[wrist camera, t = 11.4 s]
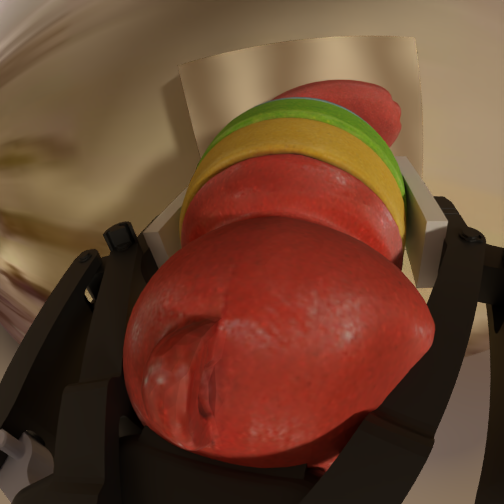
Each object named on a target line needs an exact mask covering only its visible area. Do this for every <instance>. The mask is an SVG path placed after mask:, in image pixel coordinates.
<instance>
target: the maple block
mask: <svg viewBox="0 0 504 504" xmlns="http://www.w3.org/2000/svg"><path fill="white" fill-rule="evenodd" d="M178 69H179V73H180V78H181V82H182V86H183V90H184V94H185V98H186V102H187V106H188V110H189V114H190V118H191V122H192V126H193V130H194V134H195V138H196V142H197V146H198V150H199V154H200V158H202V156H203V154H204V153H205V151H206V149H207V148H208V146H209V145H210V144H211V142H212V141H213V140H214V138H215V137H216V136H217V135H218V134H219V132H220V131H221V130H222V129H223V128H224V127H225V126H226V125H227V124H228V123H229V122H231V121H232V120H233V119H234V118H236V117H237V116H239V115H240V114H242V113H244V112H245V111H247V110H249V109H251V108H253V107H255V106H257V105H259V104H262V103H265V102H267V101H271V100H272V99H274V98H275V97H277V96H279V95H280V94H282V93H284V92H286V91H288V90H291V89H293V88H296V87H298V86H301V85H305V84H308V83H312V82H318V81H325V80H356V81H363V82H368V83H373V84H376V85H379V86H381V87H383V88H385V89H386V90H387V91H388V92H389V93H390V94H391V96H392V100H393V101H395V102H397V103H398V104H399V106H400V108H401V117H400V122H401V131H400V133H399V135H398V137H397V139H396V140H395V141H394V143H393V144H392V145H391V147H390V150H391V151H392V153H393V155H394V156H406V157H407V159H408V160H409V161H410V163H411V164H412V166H413V167H414V168H415V170H416V171H417V173H418V174H419V176H420V177H421V179H422V178H423V113H422V96H421V83H420V73H419V64H418V56H417V49H416V42H415V38H413V37H397V36H341V37H324V38H312V39H302V40H294V41H286V42H279V43H272V44H266V45H260V46H255V47H249V48H244V49H239V50H235V51H230V52H226V53H221V54H217V55H213V56H209V57H206V58H202V59H198V60H195V61H191V62H188V63H184V64H181V65H178ZM404 250H406V247H405V249H404Z"/></svg>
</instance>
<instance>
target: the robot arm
mask: <svg viewBox="0 0 504 504" xmlns="http://www.w3.org/2000/svg"><path fill="white" fill-rule="evenodd" d="M394 157H395V159H396V161H397V163H398V165H399V168H400V171H401V174H402V177H403V181H404V186H405V192H406V199H407V223H406V242H405V247H406V251H407V254H408V258H409V261H410V265H411V269H412V272H413V276H414V280H415V284H416V288H431V287H433V289H432V292H431V295H430V297H429V300H428V302H427V306H428V309H429V311H430V313H431V316H432V318H433V321H434V324H435V333H434V339H433V342H432V345H431V347H430V348H429V350H428V351H427V352H426V353H425V354H424V355H423V356H422V358H421V359H420V360H419V361H418V362H417V363H416V364H415V365H414V366H413V367H412V368H411V369H410V370H409V372H408V373H407V374H406V375H405V376H404V378H403V379H402V380H401V381H400V382H399V383H398V384H397V386H396V387H395V388H394V389H393V390H392V391H391V392H390V393H389V395H388V396H387V397H386V398H385V400H384V401H383V402H382V404H381V405H380V406H379V407H378V408H377V409H376V410H374V411H372V412H370V413H369V414H368V415H367V416H366V417H365V419H364V420H363V421H362V423H361V424H360V426H359V427H358V429H357V430H356V432H355V433H354V434H353V436H352V437H351V439H350V440H349V442H348V443H347V444H346V446H345V447H344V449H343V450H342V451H341V453H340V454H339V455H338V457H337V458H336V459H335V461H334V462H333V463H332V465H331V466H330V467H329V469H328V470H327V471H326V472H323V471H321V470H318V469H315V468H307V463H306V464H301V465H296V466H290V467H279V468H257V467H249V466H242V465H236V464H231V463H227V462H223V461H219V460H215V459H211V458H208V457H204V456H201V455H198V454H195V453H192V452H189V451H187V450H184V449H181V448H179V447H177V446H175V445H173V444H171V443H169V442H167V441H166V440H164V439H163V438H161V437H160V436H159V435H158V434H156V433H155V432H154V431H152V430H151V429H150V428H149V427H148V426H146V425H145V426H143V424H142V423H141V421H140V420H139V418H138V417H137V415H136V413H135V411H134V409H133V407H132V404H131V401H130V399H129V396H128V393H127V389H126V385H125V380H124V371H123V346H124V340H125V334H126V329H127V325H128V321H129V318H130V316H131V313H132V310H133V307H134V305H135V303H136V301H137V299H138V298H139V296H140V294H141V292H142V291H143V289H144V288H145V286H146V285H147V283H148V282H149V280H150V279H151V278H152V276H153V275H154V274H155V273H156V272H157V270H158V269H159V268H160V267H161V266H162V265H163V264H164V263H165V262H166V261H167V260H168V259H169V258H170V257H171V256H172V255H174V254H175V253H176V252H177V251H178V250H180V249H181V243H180V236H179V220H180V213H181V208H182V203H183V200H184V197H185V194H186V191H187V189H188V186H189V185H188V186H187V187H186V188H185V189H184V190H183V191H182V192H181V193H180V194H179V195H178V196H177V197H176V198H175V199H174V200H173V201H172V202H171V203H170V205H169V206H168V207H167V208H166V209H165V210H164V211H163V212H162V213H161V214H160V215H158V216H157V217H155V219H154V220H153V221H152V222H151V223H150V224H149V225H148V226H147V228H145V229H144V230H143V231H142V232H141V233H140V235H139V236H138V237H137V236H136V234H135V232H134V229H133V227H132V224H131V223H130V222H121V223H118V224H116V225H114V226H112V227H110V228H109V229H108V230H106V231H105V233H104V234H103V236H104V238H105V240H106V242H107V244H108V246H109V249H110V251H111V252H110V255H109V256H105V257H102V258H101V257H100V255H99V253H98V251H97V250H96V249H91V250H86V251H84V252H82V253H81V254H80V255H79V256H78V257H77V258H76V259H75V260H74V261H73V263H72V264H71V266H70V267H69V268H68V270H67V271H66V273H65V274H64V275H63V277H62V278H61V280H60V281H59V283H58V284H57V286H56V287H55V289H54V290H53V292H52V293H51V295H50V296H49V298H48V299H47V301H46V302H45V304H44V305H43V307H42V309H41V310H40V312H39V313H38V315H37V317H36V318H35V320H34V322H33V323H32V325H31V327H30V328H29V330H28V332H27V333H26V335H25V337H24V339H23V340H22V342H21V344H20V346H19V348H18V349H17V351H16V353H15V355H14V357H13V359H12V361H11V363H10V364H9V366H8V368H7V371H6V372H5V374H4V376H3V379H2V381H1V383H0V488H1V490H2V491H3V492H4V494H5V495H6V496H7V498H8V499H9V500H10V502H11V504H401V503H402V502H403V500H404V499H405V497H406V496H407V494H408V492H409V491H410V489H411V487H412V485H413V484H414V482H415V481H416V479H417V477H418V475H419V474H420V472H421V470H422V468H423V466H424V464H425V462H426V461H427V458H428V457H429V454H430V452H431V450H432V448H433V445H434V435H435V433H436V430H437V428H438V425H439V423H440V421H441V419H442V416H443V414H444V411H445V409H446V407H447V404H448V401H449V399H450V396H451V394H452V391H453V388H454V385H455V383H456V380H457V377H458V374H459V371H460V368H461V365H462V361H463V358H464V355H465V351H466V348H467V344H468V341H469V337H470V333H471V329H472V325H473V321H474V316H475V312H476V307H477V302H482V303H486V308H487V316H488V327H489V341H490V368H491V383H490V384H491V385H490V409H489V410H490V411H489V421H488V432H487V440H486V448H485V454H484V460H483V466H482V471H481V476H480V481H479V486H478V490H477V494H476V499H475V504H504V248H501V247H497V246H492V245H489V244H486V239H485V237H484V235H483V234H482V233H481V232H479V231H478V230H476V229H473V228H471V227H468V226H467V225H466V223H465V222H464V220H463V218H462V217H461V215H459V212H458V211H457V209H456V208H455V206H454V205H453V203H452V202H451V201H449V200H448V199H446V198H445V197H438V196H433V195H432V194H431V192H430V191H429V189H428V188H427V186H426V185H425V183H424V182H423V180H422V179H421V177H420V176H419V174H418V173H417V171H416V170H415V168H414V167H413V166H412V164H411V163H410V161H409V160H408V159H407V157H406V156H394ZM86 288H87V290H88V292H89V293H90V295H91V297H92V298H93V300H92V302H91V303H90V302H89V301H88V299H87V298H86V296H85V294H84V293H85V290H86Z"/></svg>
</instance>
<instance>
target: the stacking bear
mask: <svg viewBox="0 0 504 504" xmlns="http://www.w3.org/2000/svg"><path fill="white" fill-rule="evenodd" d="M400 117H401V108H400V106H399V104H398V103H397V102H395V101H393V100H392V96H391V94H390V93H389V92H388V91H387V90H386V89H385V88H383V87H381V86H379V85H376V84H373V83H368V82H363V81H356V80H325V81H318V82H312V83H308V84H305V85H301V86H298V87H296V88H293V89H291V90H288V91H286V92H284V93H282V94H280V95H279V96H277V97H275V98H274V99H272V100H271V101H267V102H265V103H262V104H259V105H257V106H255V107H253V108H251V109H249V110H247V111H245V112H244V113H242V114H240V115H239V116H237V117H236V118H234V119H233V120H232V121H231V122H229V123H228V124H227V125H226V126H225V127H224V128H223V129H222V130H221V131H220V132H219V134H218V135H217V136H216V137H215V138H214V140H213V141H212V142H211V144H210V145H209V146H208V148H207V149H206V151H205V153H204V154H203V156H202V158H201V160H200V161H199V163H198V166H197V168H196V171H195V173H194V175H193V177H192V179H191V181H190V184H189V186H188V189H187V191H186V194H185V197H184V200H183V203H182V208H181V213H180V220H179V236H180V243H181V249H180V250H178V251H177V252H176V253H175V254H174V255H172V256H171V257H170V258H169V259H168V260H167V261H166V262H165V263H164V264H163V265H162V266H161V267H160V268H159V269H158V270H157V272H156V273H155V274H154V275H153V276H152V278H151V279H150V280H149V282H148V283H147V285H146V286H145V288H144V289H143V291H142V292H141V294H140V296H139V298H138V299H137V301H136V303H135V305H134V307H133V310H132V313H131V316H130V318H129V321H128V325H127V329H126V334H125V340H124V346H123V371H124V380H125V385H126V389H127V393H128V396H129V399H130V401H131V404H132V407H133V409H134V411H135V413H136V415H137V417H138V418H139V420H140V421H141V423H142V424H143V426H145V425H146V426H148V427H149V428H150V429H151V430H152V431H154V432H155V433H156V434H158V435H159V436H160V437H161V438H163V439H164V440H166V441H167V442H169V443H171V444H173V445H175V446H177V447H179V448H181V449H184V450H187V451H189V452H192V453H195V454H198V455H201V456H204V457H208V458H211V459H215V460H219V461H223V462H227V463H231V464H236V465H242V466H249V467H257V468H279V467H290V466H296V465H301V464H306V463H307V468H315V469H318V470H321V471H323V472H326V471H327V470H328V469H329V467H330V466H331V465H332V463H333V462H334V461H335V459H336V458H337V457H338V455H339V454H340V453H341V451H342V450H343V449H344V447H345V446H346V444H347V443H348V442H349V440H350V439H351V437H352V436H353V434H354V433H355V432H356V430H357V429H358V427H359V426H360V424H361V423H362V421H363V420H364V419H365V417H366V416H367V415H368V414H369V413H370V412H372V411H374V410H376V409H377V408H378V407H379V406H380V405H381V404H382V402H383V401H384V400H385V398H386V397H387V396H388V395H389V393H390V392H391V391H392V390H393V389H394V388H395V387H396V386H397V384H398V383H399V382H400V381H401V380H402V379H403V378H404V376H405V375H406V374H407V373H408V372H409V370H410V369H411V368H412V367H413V366H414V365H415V364H416V363H417V362H418V361H419V360H420V359H421V358H422V356H423V355H424V354H425V353H426V352H427V351H428V350H429V348H430V347H431V345H432V342H433V339H434V333H435V324H434V321H433V318H432V316H431V313H430V311H429V309H428V306H427V304H426V303H425V301H424V299H423V297H422V296H421V294H420V293H419V292H418V290H417V289H416V288H415V286H414V285H413V284H412V283H411V282H410V280H409V279H408V278H407V277H406V276H405V275H404V274H403V273H402V272H401V270H402V265H403V255H404V249H405V242H406V223H407V199H406V192H405V186H404V181H403V177H402V174H401V171H400V168H399V165H398V163H397V161H396V159H395V157H394V155H393V153H392V151H391V150H390V147H391V145H392V144H393V143H394V141H395V140H396V139H397V137H398V135H399V133H400V131H401V122H400Z"/></svg>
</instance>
